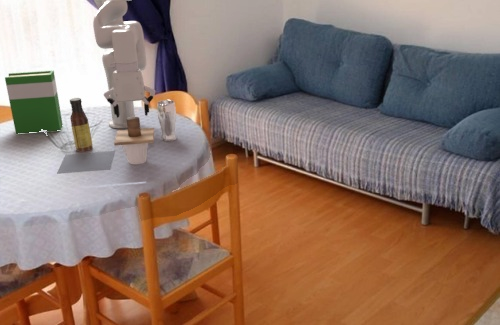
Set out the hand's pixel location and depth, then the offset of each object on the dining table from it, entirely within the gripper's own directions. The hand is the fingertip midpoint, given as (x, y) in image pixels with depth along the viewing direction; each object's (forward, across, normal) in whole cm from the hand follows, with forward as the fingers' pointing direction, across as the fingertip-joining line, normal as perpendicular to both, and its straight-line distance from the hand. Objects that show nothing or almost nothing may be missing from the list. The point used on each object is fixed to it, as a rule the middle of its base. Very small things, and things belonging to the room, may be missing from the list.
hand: (132, 115), depth 199 cm
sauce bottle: (+18, -21, +16) cm, 32 cm away
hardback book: (+19, -43, +44) cm, 64 cm away
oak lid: (+8, 0, -1) cm, 8 cm away
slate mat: (+17, -18, +2) cm, 25 cm away
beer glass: (+18, +11, +21) cm, 30 cm away
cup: (+18, 0, -1) cm, 18 cm away
